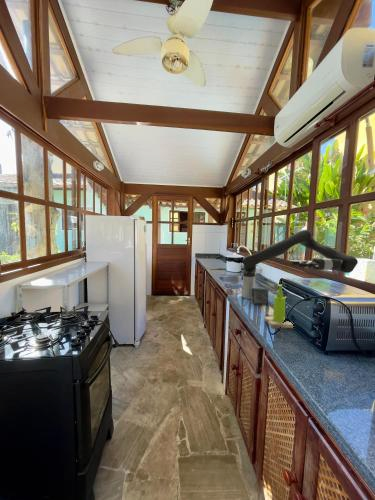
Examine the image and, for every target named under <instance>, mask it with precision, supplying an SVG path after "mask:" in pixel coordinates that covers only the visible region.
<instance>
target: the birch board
mask: <svg viewBox="0 0 375 500" xmlns="http://www.w3.org/2000/svg"><path fill="white" fill-rule="evenodd" d="M263 320H264V321H265V322H266V323H267V324H268V325H269V327H271V328H272V329H294V328H293V327H294V326H293V324H294V323H293V322H292V321H291V322H292V323H293V324H292V323H291V322H289V321H286V322H284V323H283V322H276V321H274V320H273V315H266V316H265V315H264V319H263ZM279 327H281V328H279Z"/></svg>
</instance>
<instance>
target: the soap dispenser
mask: <svg viewBox="0 0 375 500" xmlns="http://www.w3.org/2000/svg"><path fill="white" fill-rule="evenodd" d="M277 287H278V289H277V290H276V295H275V296H273V315H272V316H273V320H274V321H276V322H284V320H285V317H286V299H287V298H286V297H285V296H284V291H283V290H282V289H283V284H280V283H279V284H277Z"/></svg>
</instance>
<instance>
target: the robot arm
mask: <svg viewBox="0 0 375 500" xmlns="http://www.w3.org/2000/svg"><path fill="white" fill-rule="evenodd" d="M298 244H300V245H301V246H303V247H306V248H308V249H310V250H312V251H314V252H316V253H318V254H319V255H321V256H323V257H314V258H312V260H297V261H296V260H294V261H293V260H291V265H292V266H298V267H299V268H307V269H308V268H309V269H313V271H338V272H340V273H341V272H342V273H345V274H349V273H351V272H353V271H354V269H355V267H357V265H358V263H359V261H358V259H357V258H356V257H355V256H352V255H349V254H345V253H343V252H340V251H338V250H336V249H335V248H333V247H331V246H328V245H325V244H323V243H320V242H318V241H317V240H315V239H314V238H313V234H312V232H311V231H310V230H308V229H302V230H300V231H298V232H295V234H292V235H290V236H289V237H286V238H284V239H282V240H280V241H278V242H276V243H273V244H271V245H268V246H267V247H265V248H264V249H261V251H258V252H256V253H253V254H248V255H247V256H245V257H243V259H242V264H243V273H242V284H241V298H243V299H246V300H247V299H248V300H252V288H256V271H257V270H256V269H257V265H258V264H261V263H263V262H265V261H267V260H268V261H269V260H271V259H273V258H277V257H279V256H281V255H283V254H285V253H287V251H288V250H289V249H291V248H292V247H294V246H295V245H296V246H297V245H298ZM341 260H342V262H341Z"/></svg>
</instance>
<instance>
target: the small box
mask: <svg viewBox="0 0 375 500" xmlns="http://www.w3.org/2000/svg"><path fill="white" fill-rule="evenodd" d="M251 303H252V304H253V305H269V289H268V288H262V287H260V288H258V287H255V288H252V299H251Z"/></svg>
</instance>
